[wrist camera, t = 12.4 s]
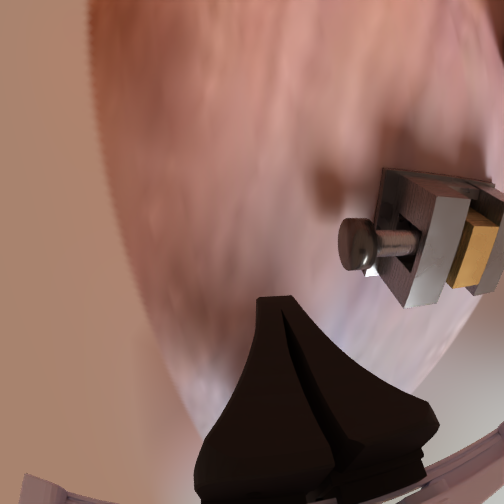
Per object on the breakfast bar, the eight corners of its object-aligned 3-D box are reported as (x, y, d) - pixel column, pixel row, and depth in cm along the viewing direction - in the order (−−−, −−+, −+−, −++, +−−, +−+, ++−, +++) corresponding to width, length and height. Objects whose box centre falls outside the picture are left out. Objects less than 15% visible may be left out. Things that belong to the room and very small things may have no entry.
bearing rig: (492, 182, 18) (529, 204, 14) (468, 264, 22) (497, 292, 18) (382, 167, 17) (423, 191, 13) (363, 273, 21) (389, 313, 17)
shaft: (488, 215, 18) (512, 231, 16) (479, 247, 20) (500, 265, 17) (341, 210, 17) (362, 232, 15) (335, 254, 19) (352, 280, 16)
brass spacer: (460, 200, 18) (499, 226, 14) (445, 252, 21) (478, 284, 17) (433, 198, 18) (474, 226, 14) (419, 254, 20) (452, 288, 16)
